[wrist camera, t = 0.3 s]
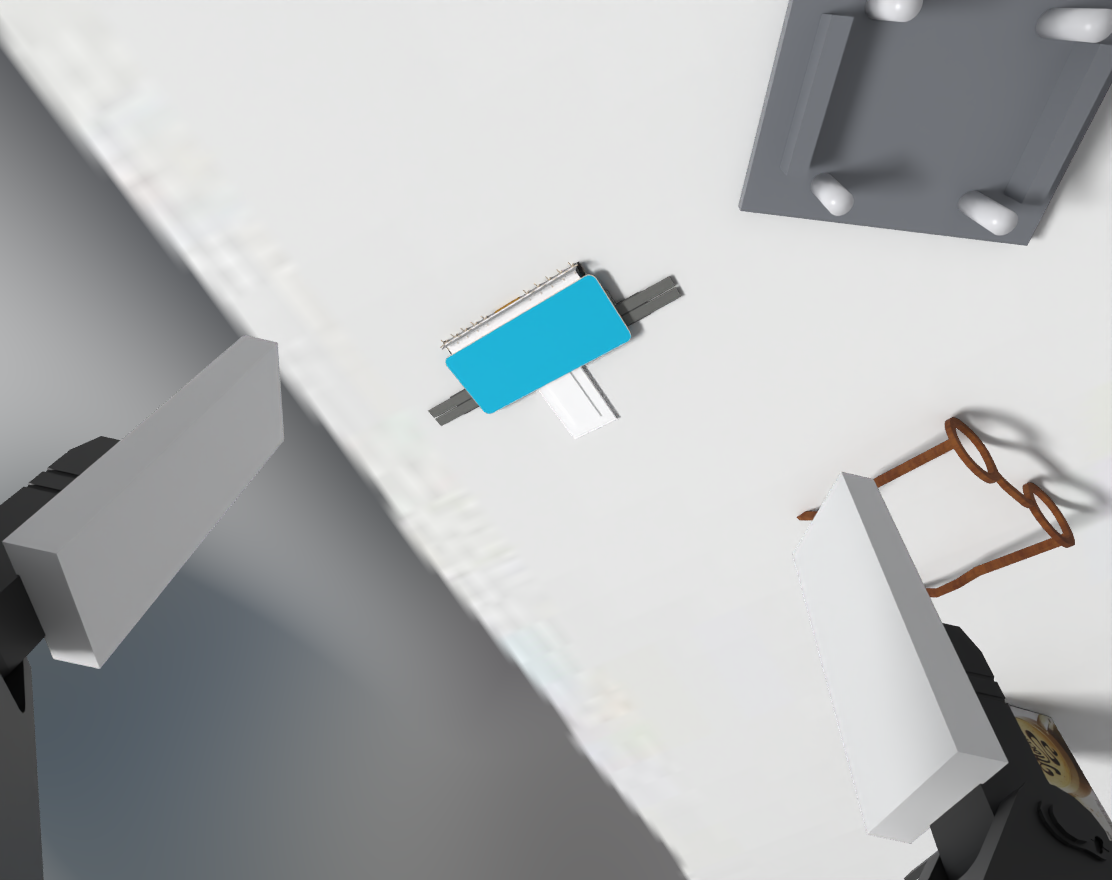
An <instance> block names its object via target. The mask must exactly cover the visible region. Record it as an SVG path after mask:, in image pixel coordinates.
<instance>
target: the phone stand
mask: <svg viewBox="0 0 1112 880" xmlns="http://www.w3.org/2000/svg"><path fill="white" fill-rule="evenodd" d="M568 263H569V262H568ZM569 264H570V263H569ZM570 265H571V264H570ZM576 266H577V268H578V269H579V271H580V273H581V274H582V276H583V277H582V278H580V277H579V275H578V274H577V272H576V271H575V270H576ZM557 271H558V270H557ZM558 272H559V271H558ZM545 277H546V276H545ZM546 278H547V277H546ZM547 279H548V278H547ZM534 284H535V283H534ZM535 285H536V284H535ZM536 286H537V285H536ZM674 286H675V285H674V283H673V281H672V279H671V278H670V276H669V277H667V278H665V279H663V280H662V281H660V282H658V283H656V284H655V285H653V286H651V287H649V288H647V289H646V290H644V291H642V292H640V293H639V292H638V293H636V294H634V295H632V296H630V297H629V298H627V299H625V300H623V301H621V302H620V303H618V304H616V303H615V302H614V300H613V298H612V297H611V295H610V294H609V292H608V290H607V291H604V289H603V288H602V286H601V284H600V283H599V281H598V280H597V278H596V277H595V276H593V275H590V274H588V275H587V274H586V273H585V271H584V269H583V268H582V266H581V265H580V263H579V262H577V263H575V264H572V265H571V267H569V268H567V269H566V270H564V271H562V270H561V273H560V272H559V274H557V275H556V276H554V277H553V278H551V277H550V279H548V281H546V282H544V283H543V284H541V285H540V284H539V285H538V286H537V287H536V288H534V289H533V290H531V291H528V292H527V293H526V292H525V291H524V290H523V291H524V292H525V293H526V294H524V295H523V296H521V297H518V298H517V299H515V300H513V301H512V302H510V303H508V304H507V305H505V306H503V307H502V308H500V309H498V310H497V311H495V313H493V314H491V315H490V316H488V317H487V316H486V317H485V319H484V318H483V317H482V316H481V317H482V318H483V320H481V321H480V322H478V323H477V322H476V323H475V325H474V324H473V323H472V322H470V323H472V324H473V326H471V327H470V328H468V329H467V328H466V330H465V331H464V330H463V329H462V330H463V332H462V333H460V334H456V336H455V337H454V336H453V335H452V334H450V335H452V336H453V338H452V339H450V340H447V341H444V342H443V341H442V340H441V341H442V342H443V343H444V345H443V346H444V347H443V348H442V349H444V348H447V349H448V351H449V352H450V353H451V355H450V356H448V357H447V358H446V361H445V362H446V366H447V367H448V368H449V369H450V371H451V372H452V373H453V374H454V376H455V377H456V378H457V379H458V381H459V382H460V383H461V384H462V386H463V387H464V388H465V389H464V390H462V391H460V392H459V393H457V394H455V395H453V396H451V397H450V399H448V400H447V401H445V402H443V403H441V404H439V405H438V406H436V407H434V408H432V409H430V410H429V412H430V414H431V415H432V416H433V417H434V418H435V417H437V416H439V415H441V414H442V413H444V412H446V411H448V410H450V409H451V408H453V407H455V406H457V407H456V408H454V409H452V410H451V411H449V412H447V413H445V414H443V415H441V416H440V417H438V418H436V421H437V422H438V423H439V424H440V425H441V426H442V425H444V424H446V423H448V422H450V421H451V420H453V419H455V418H457V417H459V416H461V415H463V414H466V413H468V412H470V411H471V410H473V409H475V408H477V407H480V408H481V409H482V410H483V411H484V412H485V413H487V414H492V413H494V412H496V411H498V410H500V409H502V408H504V407H505V406H507V405H509V404H511V403H513V402H515V401H517V400H519V399H521V398H522V397H524V396H526V395H528V394H530V393H532V392H534V391H536V390H538V391H539V392H540V394H541V395H542V396H543V398H544V399H545V400H546V402H547V403H548V404H549V406H550V407H551V408H552V410H553V411H554V412H555V414H556V415H557V416H558V418H559V419H560V420H561V422H562V423H563V425H564V426H565V427H566V429H567V430H568V431H569V433H570V434H571V435H572V437H573V438H574V439H577V438H579V437H581V436H583V435H585V434H587V433H589V432H591V431H593V430H595V429H597V428H600V427H602V426H604V425H606V424H608V423H610V422H612V421H614V420H616V419H617V417H616V416H615V414H614V413H613V411H612V410H611V408H610V407H609V405H608V404H607V403H606V401H605V400H604V398H603V397H602V395H601V394H600V392H599V391H598V390H597V388H596V387H595V385H594V384H593V382H592V381H591V379H590V378H589V376H588V375H587V374H586V372H585V371H584V369H583V368H582V366H583V365H585V364H587V363H589V362H591V361H593V360H594V359H596V358H598V357H600V356H602V355H604V354H606V353H608V352H610V351H611V350H613V349H615V348H617V347H619V346H621V345H623V344H625V343H627V342H628V341H629V340H630V338H631V332H630V331H629V329H628V327H627V326H629V325H631V324H633V323H635V322H637V321H638V320H640V319H642V318H644V317H646V316H648V315H650V314H651V313H652V312H653V311H655V310H657V309H659V308H661V307H663V306H664V305H666V304H668V303H670V302H672V301H674V300H676V299H677V298H679V297H681V295H680V294H679V292H678V290H677V288H676V287H675V288H673V289H671V290H670V291H668V292H666V293H664V294H662V295H660V296H659V297H657V298H655V299H653V300H651V301H649V302H648V303H646V304H645V302H646V301H648V300H650V299H652V298H654V297H655V296H657V295H659V294H661V293H663V292H664V291H666V290H668V289H670V288H672V287H674ZM549 296H550V297H549ZM500 325H501V326H500ZM460 329H461V328H460ZM441 347H442V346H441ZM441 347H440V348H441Z"/></svg>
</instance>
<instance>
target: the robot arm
mask: <svg viewBox="0 0 1112 880" xmlns="http://www.w3.org/2000/svg"><path fill="white" fill-rule="evenodd" d="M283 441H284V432H283V417H282V401H281V386H280V371H279V356H278V343H277V342H273V341H268V340H264V339H259V338H255V337H251V336H246V335H243V336H242V337H241V338H240V339H239V340H237V341H236V342H235V343H234V344H233V345H232V346H231V347H229V348H228V349H227V350H226V351H225V352H223V353H222V354H221V355H220V356H219V357H218V358H216V359H215V360H214V361H213V362H212V363H211V364H210V365H208V366H207V367H206V368H205V369H204V370H202V371H201V372H200V373H199V374H198V375H197V376H195V377H194V378H193V379H192V380H191V381H189V382H188V383H187V384H186V385H185V386H184V387H182V388H181V389H180V390H179V391H178V392H177V393H176V394H174V395H173V396H172V397H171V398H170V399H168V400H167V401H166V402H165V403H164V404H163V405H161V406H160V407H159V408H158V409H157V410H156V411H154V412H153V413H152V414H151V415H150V416H148V417H147V418H146V419H145V420H144V421H143V422H141V423H140V424H139V425H138V426H137V427H136V428H135V429H133V430H132V431H131V432H130V433H129V434H127V435H126V436H125V437H124V438H123V439H122V440H116V439H112V438H107V437H103V436H100V437H98V438H96V439H94V440H91V441H89V442H87V443H85V444H82V445H80V446H78V447H75V448H73V449H71V450H69V451H68V452H67V453H66V454H64V455H63V456H62V457H61V458H59V459H58V460H57V461H55V462H54V463H53V464H52V465H51V466H49V467H48V470H47V471H46V472H42V473H40V474H39V475H38V476H37V477H35V478H34V479H33V480H32V481H31V482H29V485H28V487H23V488H22V489H20V490H19V491H18V492H17V493H15V494H14V495H13V496H11V498H9V499H8V500H6V501H5V502H4V503H3V504H1V505H0V880H44V879H43V862H42V845H41V828H40V810H39V793H38V776H37V759H36V743H35V725H34V708H33V691H32V674H31V666H30V664H29V661H28V659H27V657H26V656H27V655H28V654H29V653H30V652H31V651H32V650H33V649H34V647H35V646H36V645H37V644H38V643H39V642H40V641H41V640H42V639H43V638H45V640H46V643H47V645H48V647H49V649H50V652H51V654H52V656H53V658H54V659H57V660H61V661H66V662H71V663H76V664H80V665H85V666H90V667H94V668H99V669H100V668H101V667H102V665H103V664H104V663H105V662H106V660H107V659H108V658H109V656H110V655H111V654H112V653H113V652H114V651H115V649H116V648H117V647H118V646H119V644H120V643H121V642H122V640H123V639H124V638H125V637H126V635H127V634H128V633H129V632H130V631H131V629H132V628H133V627H134V626H135V624H136V623H137V622H138V621H139V619H140V618H141V617H142V616H143V614H144V613H145V612H146V611H147V609H148V608H149V607H150V606H151V604H152V603H153V602H154V601H155V600H156V598H157V597H158V596H159V595H160V593H161V592H162V591H163V589H164V588H165V587H166V586H167V585H168V583H169V582H170V581H171V580H172V578H173V577H174V576H175V575H176V573H177V572H178V571H179V570H180V568H181V567H182V566H183V565H184V563H185V562H186V561H187V560H188V559H189V557H190V556H191V555H192V554H193V552H194V551H195V550H196V549H197V547H198V546H199V545H200V544H201V542H202V541H203V540H204V539H205V537H206V536H207V535H208V534H209V533H210V531H211V530H212V529H213V528H214V526H215V525H216V524H217V522H218V521H219V520H220V519H221V517H222V516H223V515H224V514H225V513H226V511H227V510H228V509H229V508H230V506H231V505H232V504H233V503H234V501H235V500H236V499H237V497H238V496H239V495H240V494H241V493H242V492H243V490H244V489H245V488H246V487H247V485H248V484H249V483H250V482H251V480H252V479H253V478H254V477H255V475H256V474H257V473H258V472H259V470H260V469H261V468H262V467H263V465H264V464H265V463H266V462H267V460H268V459H269V458H270V457H271V456H272V454H273V453H274V452H275V451H276V449H277V448H278V447H279V446H280V444H281V443H282V442H283ZM792 555H793V559H794V563H795V566H796V570H797V574H798V578H799V581H800V585H801V589H802V593H803V596H804V600H805V604H806V608H807V611H808V615H809V619H810V623H811V626H812V630H813V634H814V638H815V641H816V645H817V649H818V653H819V656H820V660H821V664H822V668H823V671H824V675H825V679H826V683H827V686H828V690H829V694H830V697H831V701H832V705H833V709H834V712H835V716H836V720H837V724H838V727H839V731H840V735H841V739H842V742H843V746H844V750H845V754H846V757H847V761H848V765H849V769H850V772H851V776H852V780H853V784H854V787H855V791H856V795H857V799H858V802H859V806H860V810H861V813H862V817H863V821H864V825H865V828H866V832H867V835H872V836H877V837H881V838H886V839H890V840H895V841H900V842H904V843H909V844H911V843H912V842H913V841H915V840H916V839H917V838H918V837H919V836H921V835H922V834H923V833H924V832H926V831H927V830H928V829H929V828H931V831H932V834H933V837H934V840H935V843H936V846H937V848H938V851H937V852H935V853H934V854H933V855H932V856H930V857H929V858H928V859H926V860H925V861H924V862H923V863H921V864H920V865H919V866H917V867H916V868H915V869H914V870H912V871H911V872H910V873H909V874H908V875H907V876H906V877H905V878H904V879H905V880H917V879H918V878H919V879H918V880H1112V841H1110V840H1109V838H1108V836H1107V833H1106V831H1105V830H1104V829H1103V827H1102V826H1101V825H1100V823H1099V822H1098V821H1097V819H1096V818H1095V817H1094V816H1093V814H1092V813H1091V812H1090V811H1089V810H1088V809H1087V808H1086V807H1084V806H1083V805H1082V804H1081V803H1080V802H1079V801H1078V800H1077V799H1076V798H1075V797H1073V796H1071V795H1070V794H1068V793H1067V792H1065V791H1063V790H1062V789H1060V788H1058V787H1057V786H1055V785H1052V784H1050V783H1049V782H1048V780H1047V778H1046V776H1045V774H1044V772H1043V770H1042V768H1041V767H1040V765H1039V763H1038V761H1037V759H1036V757H1035V755H1034V753H1033V751H1032V749H1031V747H1030V745H1029V743H1028V741H1027V739H1026V737H1025V736H1024V734H1023V732H1022V730H1021V728H1020V726H1019V724H1018V722H1017V720H1016V718H1015V716H1014V714H1013V712H1012V710H1011V708H1010V706H1009V704H1008V703H1005V701H1004V699H1005V697H1004V695H1003V693H1002V691H1001V689H1000V687H999V685H998V683H997V682H994V675H993V673H992V671H991V670H990V668H989V666H988V664H987V662H986V660H985V658H984V656H983V654H982V652H981V651H980V650H979V648H978V647H977V646H976V645H975V644H974V643H973V642H972V641H971V639H970V638H969V637H968V636H967V635H966V634H965V633H964V631H963V630H962V629H961V628H960V627H958V626H953V625H949V624H944V623H942V622H941V620H940V617H939V615H938V613H937V611H936V609H935V607H934V605H933V603H932V601H931V599H930V596H929V594H928V592H927V590H926V588H925V586H924V584H923V582H922V580H921V578H920V575H919V573H918V571H917V569H916V567H915V565H914V563H913V561H912V559H911V557H910V555H909V552H908V550H907V548H906V546H905V544H904V542H903V540H902V538H901V536H900V534H899V531H898V529H897V527H896V525H895V523H894V521H893V519H892V517H891V515H890V513H889V510H888V508H887V506H886V504H885V502H884V500H883V498H882V496H881V494H880V492H879V489H878V487H877V485H876V483H875V481H874V479H871V478H867V477H862V476H858V475H853V474H849V473H845V472H841V473H840V475H839V477H838V478H837V480H836V482H835V483H834V485H833V487H832V488H831V490H830V492H829V493H828V495H827V497H826V499H825V500H824V502H823V504H822V505H821V507H820V509H819V510H818V512H817V514H816V515H815V517H814V519H813V520H812V522H811V524H810V526H809V527H808V529H807V531H806V532H805V534H804V536H803V537H802V539H801V541H800V542H799V544H798V546H797V547H796V549H795V551H794V552H793V554H792Z"/></svg>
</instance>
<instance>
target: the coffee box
mask: <svg viewBox="0 0 1112 880" xmlns="http://www.w3.org/2000/svg"><path fill="white" fill-rule="evenodd" d="M1009 706H1010V705H1009ZM1010 708H1011V710H1012V712H1013V714H1014V716H1015V718H1016V720H1017V722H1018V724H1019V726H1020V728H1021V730H1022V732H1023V734H1024V736H1025V737H1026V739H1027V741H1028V743H1029V745H1030V747H1031V749H1032V751H1033V753H1034V755H1035V757H1036V759H1037V761H1038V763H1039V765H1040V767H1041V768H1042V770H1043V772H1044V774H1045V776H1046V778H1047V780H1048V782H1049V783H1050V784H1052V785H1055V786H1057V787H1058V788H1060V789H1062V790H1063V791H1065V792H1067V793H1068V794H1070V795H1071V796H1073V797H1075V798H1076V799H1077V800H1078V801H1079V802H1080V803H1081V804H1082V805H1083V806H1084V807H1086V808H1087V809H1088V810H1089V811H1090V812H1091V813H1092V814H1093V816H1094V817H1095V818H1096V819H1097V821H1098V822H1099V823H1100V825H1101V826H1102V827H1103V829H1104V830H1105V831H1106V833H1107V836H1108V838H1109V840H1110V841H1112V822H1111V820H1110V818H1109V817H1108V815H1107V813H1106V811H1105V810H1104V808H1103V806H1102V805H1101V803H1100V801H1099V799H1098V798H1097V796H1096V794H1095V793H1094V791H1093V789H1092V787H1091V786H1090V784H1089V782H1088V781H1087V779H1086V777H1085V776H1084V774H1083V772H1082V770H1081V769H1080V767H1079V765H1078V763H1077V762H1076V760H1075V758H1074V757H1073V755H1072V753H1071V751H1070V750H1069V748H1068V746H1067V745H1066V743H1065V741H1064V739H1063V738H1062V736H1061V734H1060V732H1059V731H1058V729H1057V727H1056V725H1055V724H1054V722H1053V720H1052V719H1051V717H1048V716H1045V715H1041V714H1038V713H1034V712H1031V711H1027V710H1024V709H1020V708H1017V707H1013V706H1010Z"/></svg>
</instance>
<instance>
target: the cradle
mask: <svg viewBox="0 0 1112 880" xmlns="http://www.w3.org/2000/svg"><path fill="white" fill-rule="evenodd" d="M1111 83H1112V0H789V3H788V7H787V11H786V15H785V19H784V23H783V28H782V32H781V36H780V40H779V44H778V48H777V52H776V56H775V60H774V64H773V68H772V72H771V76H770V80H769V84H768V88H767V92H766V96H765V100H764V104H763V108H762V112H761V117H760V121H759V125H758V129H757V133H756V137H755V141H754V145H753V149H752V153H751V157H750V161H749V165H748V169H747V173H746V177H745V181H744V185H743V189H742V193H741V197H740V201H739V209H740V211H746V212H754V213H763V214H771V215H779V216H787V217H795V218H804V219H812V220H820V221H828V222H836V223H845V224H853V225H861V226H869V227H877V228H886V229H894V230H902V231H910V232H918V233H927V234H935V235H943V236H951V237H959V238H968V239H976V240H984V241H992V242H1000V243H1009V244H1017V245H1025V246H1027V245H1028V243H1029V241H1030V239H1031V237H1032V235H1033V233H1034V231H1035V230H1036V228H1037V226H1038V224H1039V222H1040V220H1041V218H1042V216H1043V214H1044V212H1045V210H1046V208H1047V206H1048V204H1049V203H1050V201H1051V199H1052V197H1053V195H1054V193H1055V191H1056V189H1057V187H1058V185H1059V183H1060V181H1061V179H1062V177H1063V176H1064V174H1065V172H1066V170H1067V168H1068V166H1069V164H1070V162H1071V160H1072V158H1073V156H1074V154H1075V152H1076V151H1077V149H1078V147H1079V145H1080V143H1081V141H1082V139H1083V137H1084V135H1085V133H1086V131H1087V129H1088V127H1089V125H1090V124H1091V122H1092V120H1093V118H1094V116H1095V114H1096V112H1097V110H1098V108H1099V106H1100V104H1101V102H1102V100H1103V98H1104V97H1105V95H1106V93H1107V91H1108V89H1109V87H1110V85H1111Z"/></svg>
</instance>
